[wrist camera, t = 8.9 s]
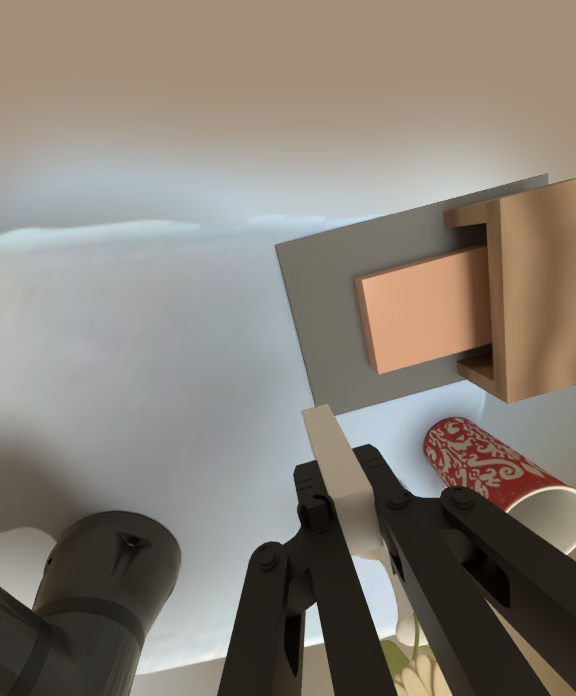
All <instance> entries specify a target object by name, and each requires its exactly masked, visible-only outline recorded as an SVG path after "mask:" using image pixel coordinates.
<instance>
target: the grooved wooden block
mask: <svg viewBox="0 0 576 696" xmlns="http://www.w3.org/2000/svg"><path fill="white" fill-rule="evenodd" d="M443 216H444V227H445V228H452V227H459V226H467V225H474V224H481V223H486V225H487V245H488V265H489V286H490V306H491V326H492V346H493V352H490V353H486V354H482V355H479V356H475V357H471V358H468V359H464V360H460V361H457V373H458V375H460V376H462V377H463V378H465V379H467V380H468V381H470V382H472V383H473V384H475V385H477V386H479V387H480V388H482V389H484V390H485V391H487V392H489V393H490V394H492V395H494V396H495V397H497V398H499V399H500V400H502V401H504V402H506V403H507V404H508V403H512V402H515V401H519V400H523V399H526V398H530V397H533V396H537V395H541V394H544V393H548V392H551V391H555V390H558V389H562V388H565V387H569V386H572V385H576V178H574V179H570V180H565V181H561V182H558V183H553V184H549V185H545V186H540V187H536V188H532V189H528V190H524V191H520V192H516V193H512V194H509V195H505V196H501V197H497V198H494V199H490V200H486V201H482V202H478V203H475V204H471V205H467V206H463V207H460V208H456V209H452V210H448V211H444V212H443Z"/></svg>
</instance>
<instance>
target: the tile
mask: <svg viewBox="0 0 576 696" xmlns="http://www.w3.org/2000/svg"><path fill="white" fill-rule="evenodd" d="M354 282H355V287H356V293H357V298H358V303H359V309H360V314H361V320H362V325H363V330H364V336H365V341H366V346H367V352H368V357H369V363H370V366H371V367H372V368H373V369H374V370H375V371H376V372H377V373H378V374H382V373H386V372H390V371H393V370H397V369H400V368H404V367H408V366H411V365H415V364H418V363H422V362H426V361H429V360H433V359H436V358H440V357H444V356H447V355H451V354H454V353H458V352H462V351H465V350H469V349H472V348H476V347H480V346H483V345H487V344H490V343H492V326H491V306H490V286H489V265H488V245H487V243H481V244H478V245H474V246H470V247H467V248H463V249H459V250H456V251H452V252H448V253H445V254H441V255H437V256H434V257H430V258H426V259H422V260H419V261H415V262H411V263H408V264H404V265H400V266H397V267H393V268H389V269H386V270H382V271H378V272H375V273H371V274H367V275H364V276H360V277H356V278H354Z"/></svg>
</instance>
